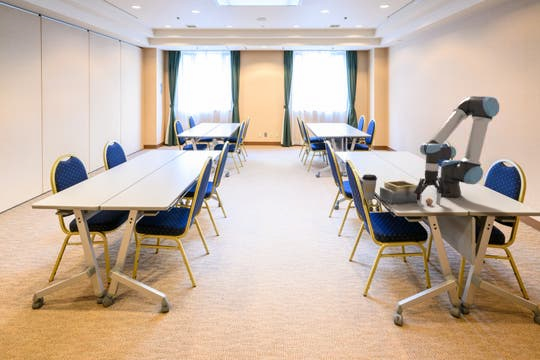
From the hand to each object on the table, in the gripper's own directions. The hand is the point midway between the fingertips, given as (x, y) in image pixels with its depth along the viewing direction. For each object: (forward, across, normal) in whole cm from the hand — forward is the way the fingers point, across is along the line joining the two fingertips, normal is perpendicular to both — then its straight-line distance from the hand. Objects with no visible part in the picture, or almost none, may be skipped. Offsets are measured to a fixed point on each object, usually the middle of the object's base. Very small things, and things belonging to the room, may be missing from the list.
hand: (428, 204), depth 264 cm
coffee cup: (0, +28, -23) cm, 36 cm away
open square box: (0, +12, -13) cm, 18 cm away
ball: (0, 0, 0) cm, 0 cm away
